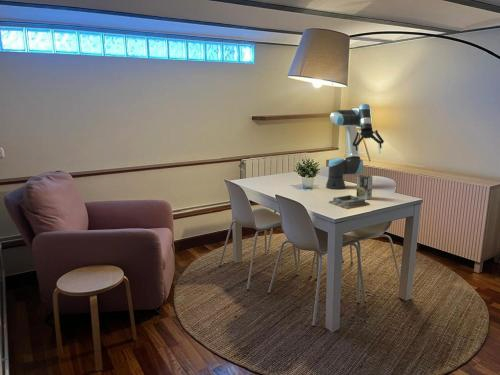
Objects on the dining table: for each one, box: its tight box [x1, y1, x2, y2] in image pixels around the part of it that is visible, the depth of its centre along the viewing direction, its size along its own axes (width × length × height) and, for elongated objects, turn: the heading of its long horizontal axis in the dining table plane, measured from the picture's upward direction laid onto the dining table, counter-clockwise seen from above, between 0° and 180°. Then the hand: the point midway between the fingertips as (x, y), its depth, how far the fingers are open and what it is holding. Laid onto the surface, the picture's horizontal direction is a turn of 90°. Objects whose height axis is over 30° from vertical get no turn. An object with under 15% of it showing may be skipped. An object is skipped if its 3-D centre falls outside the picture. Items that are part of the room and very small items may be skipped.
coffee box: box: [355, 174, 373, 201], centre depth 272 cm, size 9×6×16 cm
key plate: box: [328, 194, 370, 210], centre depth 260 cm, size 18×20×4 cm
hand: (369, 153), depth 256 cm, fingers open, 13 cm apart
